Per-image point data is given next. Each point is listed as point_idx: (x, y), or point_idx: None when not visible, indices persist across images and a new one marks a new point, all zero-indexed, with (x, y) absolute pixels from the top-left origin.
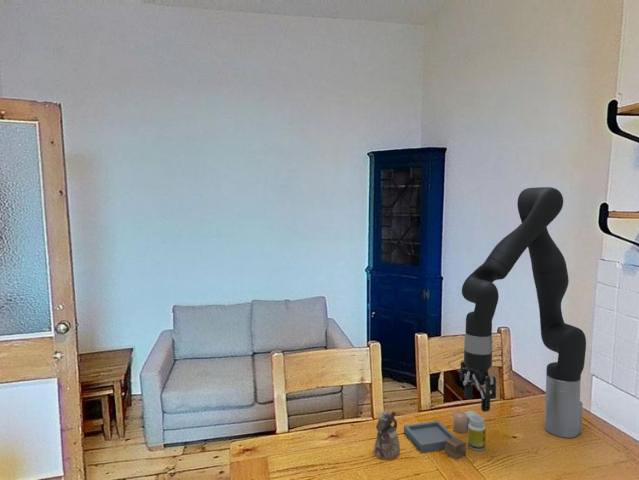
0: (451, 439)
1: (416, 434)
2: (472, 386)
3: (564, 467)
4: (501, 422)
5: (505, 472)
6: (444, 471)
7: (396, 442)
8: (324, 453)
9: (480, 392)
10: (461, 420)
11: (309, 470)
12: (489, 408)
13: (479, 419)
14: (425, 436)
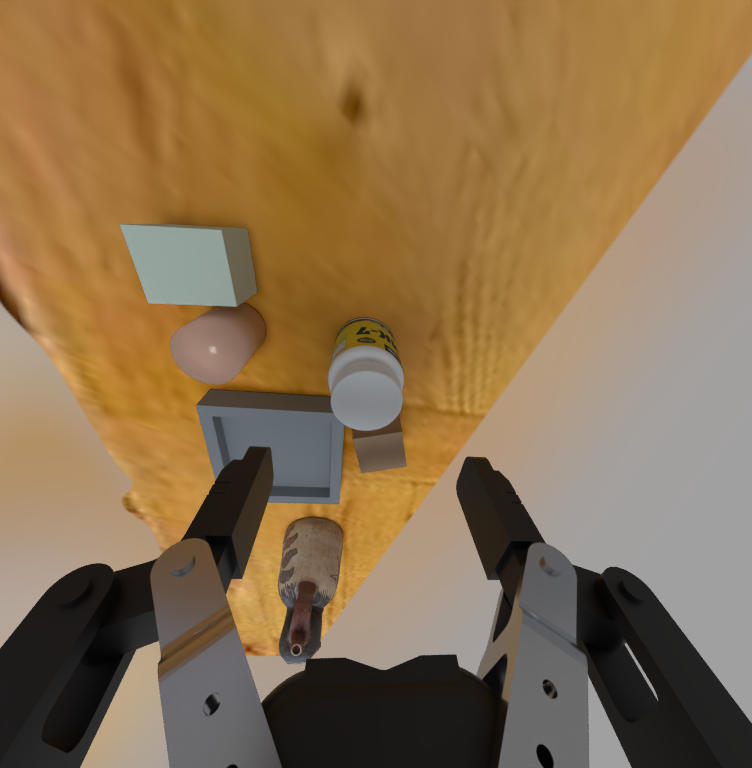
0: (366, 457)
1: None
2: (231, 533)
3: (662, 97)
4: (175, 22)
5: (518, 356)
6: (428, 476)
7: (335, 562)
8: None
9: (492, 634)
10: (245, 361)
11: (329, 613)
12: (508, 484)
13: (379, 397)
14: (280, 463)
